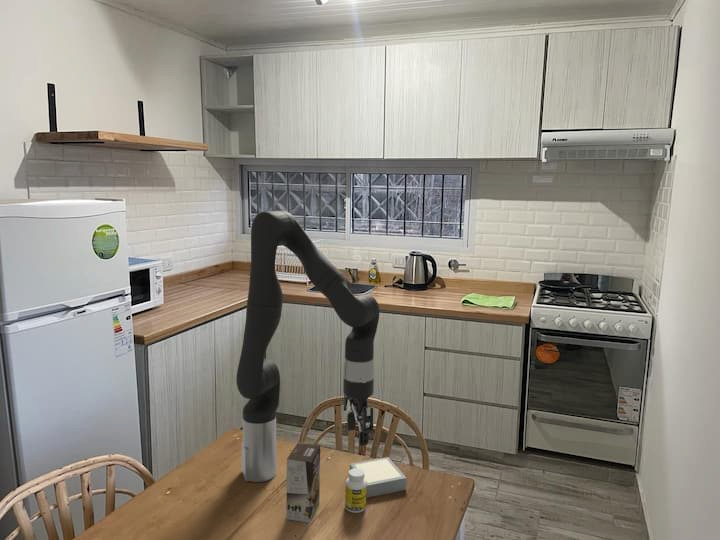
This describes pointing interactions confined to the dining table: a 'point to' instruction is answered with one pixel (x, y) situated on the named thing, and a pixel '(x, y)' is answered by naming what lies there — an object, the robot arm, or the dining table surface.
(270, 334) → the robot arm
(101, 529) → the dining table surface
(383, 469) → the block
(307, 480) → the coffee box
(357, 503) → the supplement bottle
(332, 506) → the dining table surface
